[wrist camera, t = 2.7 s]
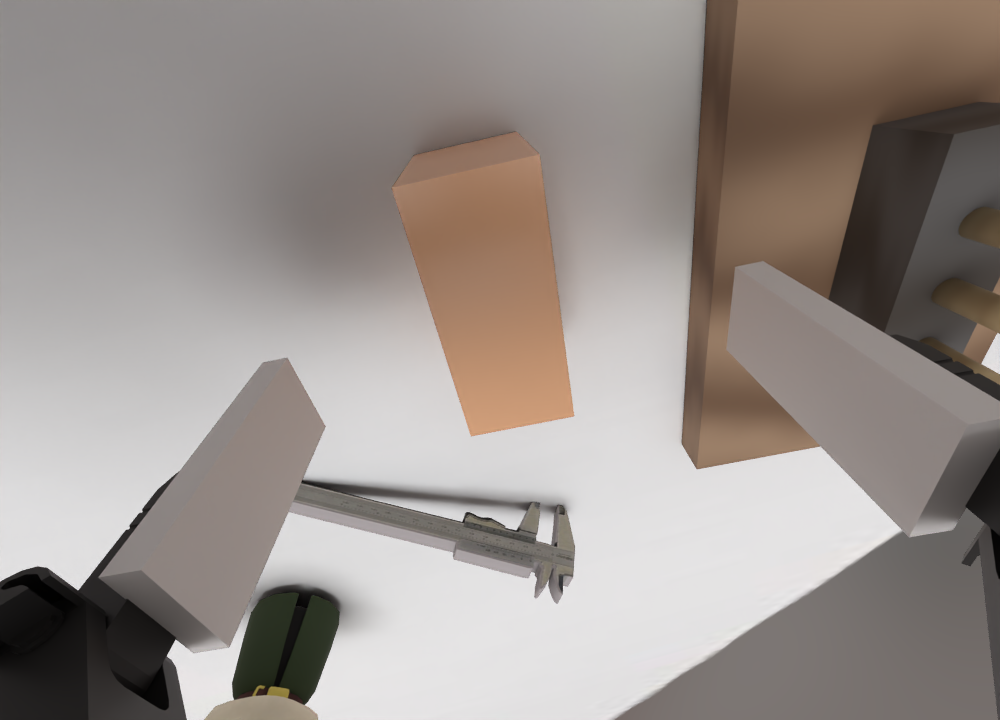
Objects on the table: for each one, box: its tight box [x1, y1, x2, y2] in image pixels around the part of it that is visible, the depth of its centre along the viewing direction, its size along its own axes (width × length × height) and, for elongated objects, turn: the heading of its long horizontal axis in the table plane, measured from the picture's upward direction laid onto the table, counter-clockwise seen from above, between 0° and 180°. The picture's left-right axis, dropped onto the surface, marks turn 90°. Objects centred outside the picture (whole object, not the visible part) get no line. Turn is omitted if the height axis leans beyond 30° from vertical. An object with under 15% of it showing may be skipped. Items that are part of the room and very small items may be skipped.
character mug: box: [204, 592, 339, 720], centre depth 27 cm, size 11×7×13 cm, turn 65°
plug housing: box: [392, 132, 574, 436], centre depth 16 cm, size 9×4×6 cm, turn 11°
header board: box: [682, 0, 1000, 469], centre depth 16 cm, size 22×14×8 cm, turn 11°
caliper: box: [289, 482, 575, 604], centre depth 25 cm, size 20×1×6 cm, turn 77°
